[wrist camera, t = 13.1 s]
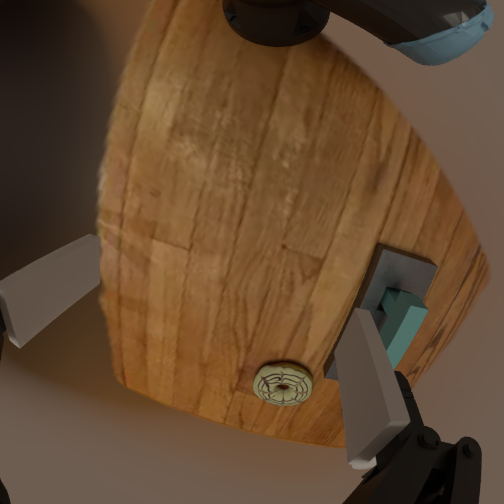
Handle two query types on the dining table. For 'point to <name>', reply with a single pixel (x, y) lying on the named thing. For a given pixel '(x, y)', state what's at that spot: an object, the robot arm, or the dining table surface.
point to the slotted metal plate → (375, 282)
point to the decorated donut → (286, 374)
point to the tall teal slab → (400, 321)
